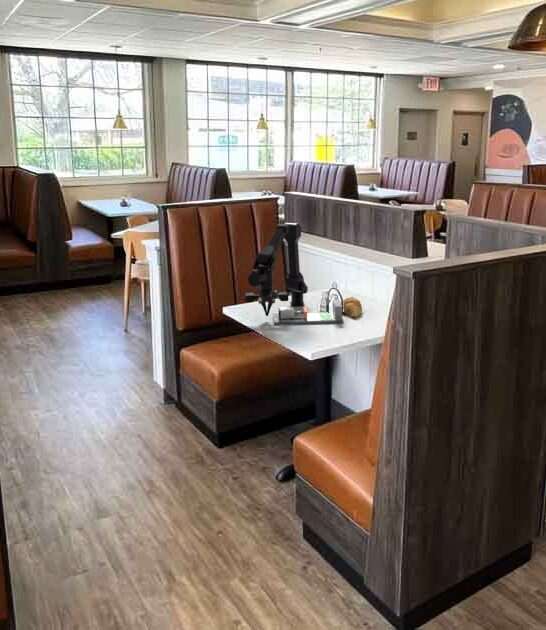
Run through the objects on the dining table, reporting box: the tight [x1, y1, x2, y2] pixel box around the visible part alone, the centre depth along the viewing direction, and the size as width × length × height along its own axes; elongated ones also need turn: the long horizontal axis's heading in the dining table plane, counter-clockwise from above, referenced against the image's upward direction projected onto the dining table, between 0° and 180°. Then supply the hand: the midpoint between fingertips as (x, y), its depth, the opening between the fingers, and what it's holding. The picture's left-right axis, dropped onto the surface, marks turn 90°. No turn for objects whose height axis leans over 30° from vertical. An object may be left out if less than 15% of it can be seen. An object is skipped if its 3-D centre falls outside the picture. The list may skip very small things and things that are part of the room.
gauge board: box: [272, 299, 345, 326], centre depth 276 cm, size 13×30×7 cm, turn 92°
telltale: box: [302, 306, 308, 318], centre depth 276 cm, size 7×1×3 cm, turn 2°
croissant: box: [342, 296, 363, 318], centre depth 286 cm, size 21×10×8 cm, turn 5°
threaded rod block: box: [278, 306, 304, 318], centre depth 276 cm, size 4×11×4 cm, turn 92°
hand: (267, 315), depth 276 cm, fingers closed
